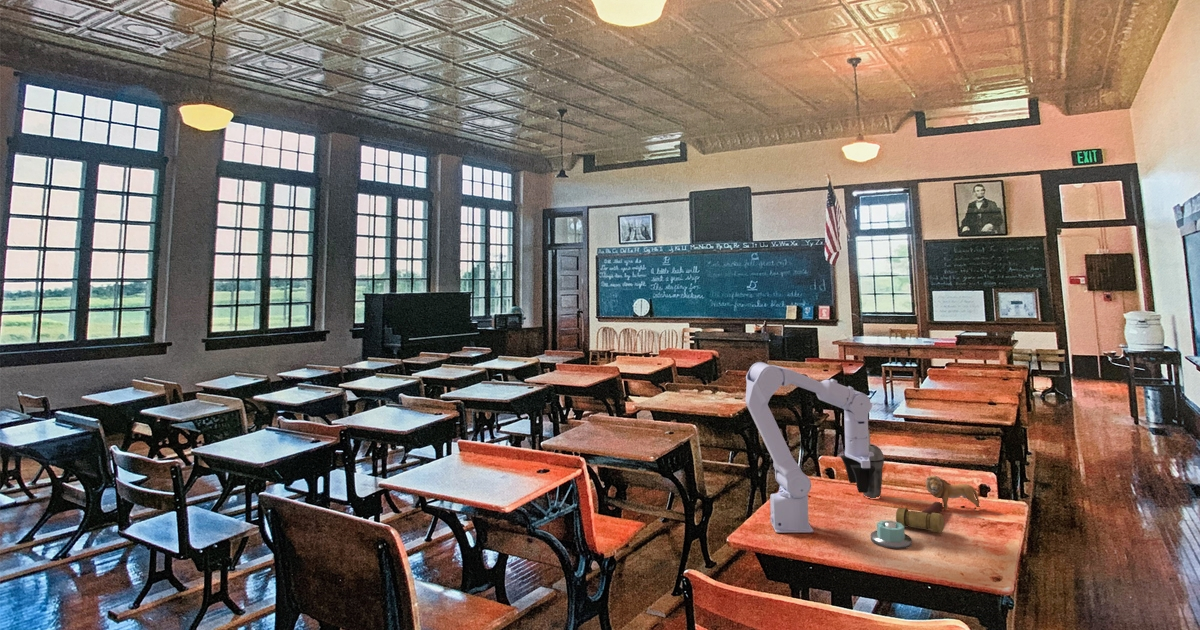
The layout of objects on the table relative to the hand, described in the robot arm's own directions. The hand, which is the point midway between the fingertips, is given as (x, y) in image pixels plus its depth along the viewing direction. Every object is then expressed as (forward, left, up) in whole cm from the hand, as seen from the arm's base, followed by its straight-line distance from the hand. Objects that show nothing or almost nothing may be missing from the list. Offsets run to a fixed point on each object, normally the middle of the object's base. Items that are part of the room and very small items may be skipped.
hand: (858, 487), depth 158 cm
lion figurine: (+28, +9, -9) cm, 30 cm away
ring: (+4, -12, -8) cm, 15 cm away
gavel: (+18, +1, -9) cm, 21 cm away
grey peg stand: (+4, -12, -9) cm, 16 cm away
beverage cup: (+10, +19, -10) cm, 24 cm away
